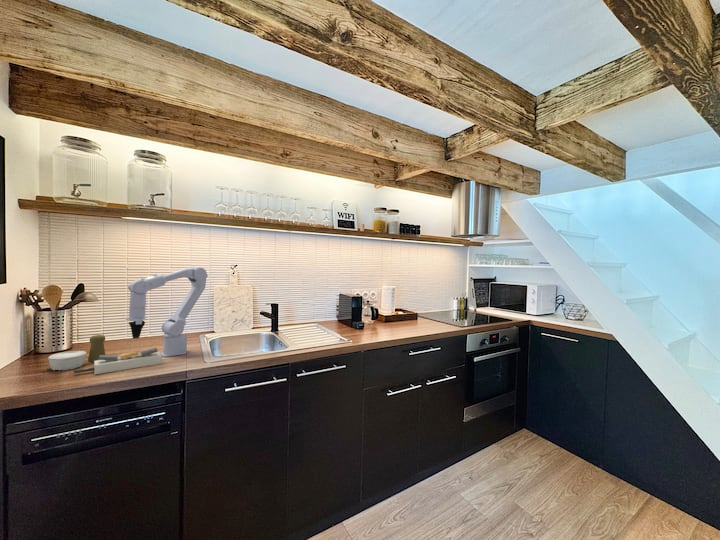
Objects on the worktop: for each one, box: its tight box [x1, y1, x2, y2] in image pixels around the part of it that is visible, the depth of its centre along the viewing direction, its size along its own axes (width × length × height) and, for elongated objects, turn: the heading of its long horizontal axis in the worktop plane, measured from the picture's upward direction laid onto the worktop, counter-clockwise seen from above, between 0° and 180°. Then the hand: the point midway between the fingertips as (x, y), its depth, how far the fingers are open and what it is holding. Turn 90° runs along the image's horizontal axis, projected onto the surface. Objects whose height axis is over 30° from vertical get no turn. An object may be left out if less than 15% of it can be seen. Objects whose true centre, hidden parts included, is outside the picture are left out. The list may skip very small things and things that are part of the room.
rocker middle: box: [120, 350, 139, 359], centre depth 124 cm, size 6×3×1 cm, turn 133°
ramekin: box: [47, 350, 87, 372], centre depth 121 cm, size 11×11×5 cm
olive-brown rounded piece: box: [87, 334, 106, 363], centre depth 130 cm, size 6×6×11 cm
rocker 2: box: [140, 347, 159, 357], centre depth 129 cm, size 6×3×1 cm, turn 132°
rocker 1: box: [99, 354, 118, 360], centre depth 119 cm, size 6×3×1 cm, turn 133°
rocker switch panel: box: [73, 351, 163, 375], centre depth 122 cm, size 28×7×4 cm, turn 133°
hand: (135, 338), depth 130 cm, fingers closed
